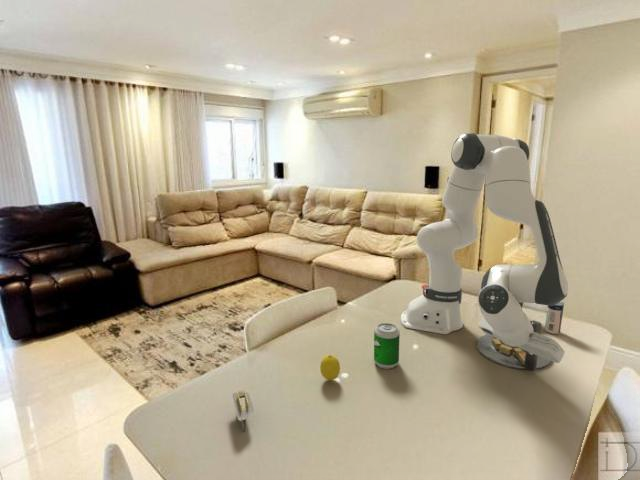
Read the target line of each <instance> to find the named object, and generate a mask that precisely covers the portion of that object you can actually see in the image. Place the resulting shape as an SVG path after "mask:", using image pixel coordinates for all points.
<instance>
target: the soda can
mask: <svg viewBox="0 0 640 480" xmlns="http://www.w3.org/2000/svg"><path fill="white" fill-rule="evenodd" d="M400 332H401V331H400V329H399V328H398V327H397V325H395V324H392V323H389V322H384V323H380V324H378V325H377V326H375V328H374V331H373V361H374V363H375V364H376V365H377V366H378V367H379V368H382V369H385V370H386V369H387V370H389V369H393V368H395V367H396V366H398V364H399V361H400V339H401V338H400V337H401V336H400V334H401V333H400Z"/></svg>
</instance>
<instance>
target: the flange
mask: <svg viewBox="0 0 640 480" xmlns="http://www.w3.org/2000/svg"><path fill="white" fill-rule="evenodd" d="M492 338H493V337H491V336H489V335H487V334H486V333H485V334H483V335H481V336H480V337H479V338H478V339H477V340H476V341H477V342H476V349H477V350H478V352H479V353H480V354H481V355H482V356H483V357H484V358H486V359H487V360H489V361H491V362H493V363H496V364H497V365H501V366H504V367H506V368H509V369H516V370H522V371H523V370H525V371H528V370H527V369H525V368H524V365H523V363H522V362H521V361H520V360H519V358H518V357H516V356H515V355H514V354H513V351H512V354H511V355H507V354H505V353H502V352H500V351H499V349H495V348H494V346H493V345H492ZM501 343H502V344H503V345H506V344H505V343H503V342H502V341H501ZM506 346H509V345H506ZM509 347H511V348H518V347H516V346H509ZM550 364H551V361H550V360H547V359H545V358H543V357H540V356H538V357H537V365H536V370H539V369H540V370H541V369H544V368H546V367H547V366H549V365H550Z"/></svg>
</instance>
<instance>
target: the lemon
mask: <svg viewBox="0 0 640 480" xmlns="http://www.w3.org/2000/svg"><path fill="white" fill-rule="evenodd" d="M340 371H341V365H340V361H339V360H338V358H337V357H336V356H335V355H332V354H327V355H325V356H324V357H323V358H322V360H321V362H320V374H321V376H322V377H323V378H324V379H325V380H327V381H330V382H331V381H333V380H336V379H337V378H338V377H339V375H340Z"/></svg>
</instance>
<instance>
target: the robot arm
mask: <svg viewBox="0 0 640 480" xmlns="http://www.w3.org/2000/svg"><path fill="white" fill-rule="evenodd" d="M450 155H451V162H452V164H453V166H452V168H451V171H450V174H449V176H448V180H447V183H446V187H445V189H444V193H443V196H442V199H441V204H442V206H443V207H444V209H445V218H444V219H443V220H442V221H436V222H431V223H429V224H426V225H425V226H423V227H422V228H420V229H419V231H418V232H417V234H416V242H417V243H416V244H417V246H418V248H419V249H420V250H421V252H422V253H424V254H425V256H426V258H427V262H428V266H429V267H428V268H429V280H428V281H429V284H427V283H425V282H423V284H421V289H422V294H421V295H419V296H418V297H416V298H414V299H413V300H410V302H409V304H408V306H407V309H406V310H405V311H403V312H401V315H400V323H401V325H402V326H403V327H404V328H406V329H413V330H417V331H418V330H419V331H424V332H430V333H436V334H442V335H448V334H450V333H451V332H455V331H458V330H459V331H460V329H462V328H463V326H464V323H463V319H462V314H461V303H462V299H463V298H462V297H463V289H462V275H463V268H462V267H461V265H460V264H459V263H457V262H456V261H457V260H456V257H455V252H456V250H460V249H465V248H466V247H468V246H470V245H471V244H473V243H475V242H476V241H477V238H478V236H479V232H478V230H479V229H478V227H477V225H476V223H475V212H476V207H477V205H478V201H479V198H480V195H481V193H482V190H483V187H484V196H485V197H484V198H485V204H486V207H487V208H488V210H489V211H490V213H492V214H493V215H495V216H497V217H499V218H500V219H503V220H507V221H511V222H515V223H519V224H522V225H525V226H526V227H528V228H530V230H531V232H532V234H533V239H534V243H535V247H536V252H537V257H538V262H537V263H535V264H532V263H531V264H530V263H529V264H514V263H513V264H512V263H511V264H506V263H504V264H494V265H492V266H490V268H488V270H487V271H486V272H485V273H484V275H483V277H482V280H481V286H480V291H479V293H478V295H477V303H478V307H479V310H480V313H481V315H482V317H481V319H480V320H479V323H478V328H479V329H480V330H481V331H482V332H483V333H484V334H485V335H486V334H487V335H489V336H491V337H494V338H496V339H499V340H501V341H502V342H503V343H505V344H506V345H509V346H516V347H518V348H520V350H521V351H523V352H526V353H528V354H531V355H532V354H535V355H538V356H540V357H543V358H545V359H547V360H550V362H552V363H555V364H559V363H561V361H562V359H563V358H564V356H565V350H564V348H563V347H562V346H561V344H559V342H558V341H556V340H555V339H553V338H551V337H549V336H547V335H544V334H541V333H540V334H539V333H536V332H533V326H532V324H531V322H530V321H531V320H530V319H529V317H528V316H527V315H526V313H525V312H524V310H523V306H522V307H521V306H520V304H519V303H518V302H521V303H523V304H524V303H525V304H536V305H542V306H548V305H549V306H554V305H556V304H557V303H559V302H560V301H562V300H563V301H564V299H566V297H567V296H568V292H569V291H568V290H569V284H568V279H567V276H566V274H565V272H564V269H563V265H562V263H561V262H562V261H561V258H560V255H559V249H558V246H557V242H556V238H555V234H554V233H555V232H554V230H553V226H552V222H551V218H550V214H549V212H548V209H547V207H546V205H545V204H544V202H542V201H540V200H539V199H536V197H535V195H534V194H533V191H532V187H531V186H532V185H531V173H530V166H529V158H530V148H529V146H528V143H526V142H525V141H523V140H522V139H518V138H516V137H515V138H514V137H508V136H505V135H504V136H503V135H499V134H481V133H480V134H479V133H478V134H477V133H464V134H463V133H462V134H461V135H459V136H458V137H457V138H456V140H455V141H454V143H453V144H452V148H451V154H450Z"/></svg>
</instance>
